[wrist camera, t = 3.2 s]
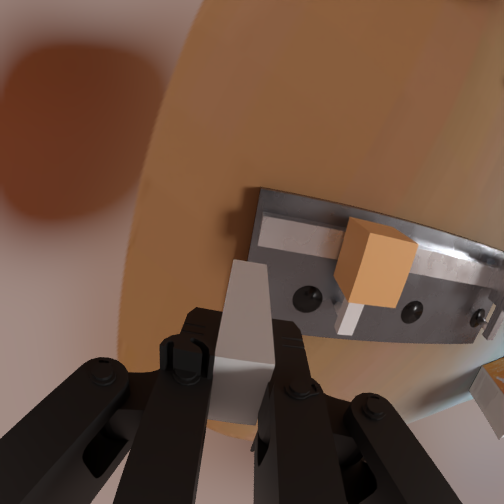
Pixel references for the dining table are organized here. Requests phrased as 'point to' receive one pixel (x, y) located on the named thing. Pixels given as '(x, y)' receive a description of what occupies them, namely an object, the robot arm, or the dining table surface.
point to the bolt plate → (372, 317)
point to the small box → (491, 394)
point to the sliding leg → (370, 269)
